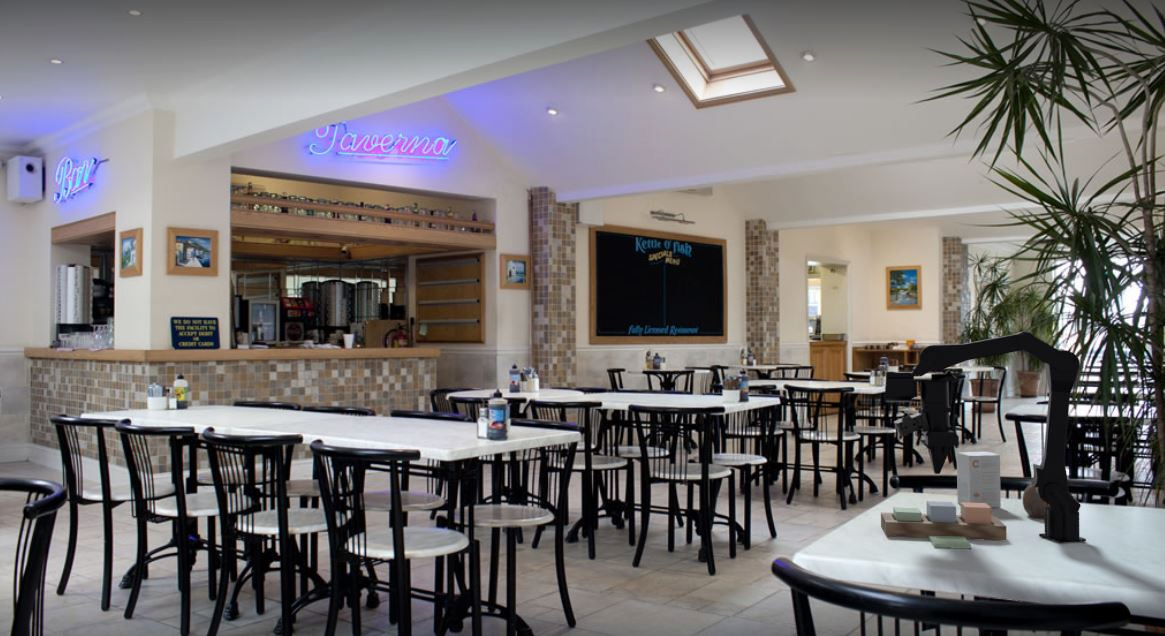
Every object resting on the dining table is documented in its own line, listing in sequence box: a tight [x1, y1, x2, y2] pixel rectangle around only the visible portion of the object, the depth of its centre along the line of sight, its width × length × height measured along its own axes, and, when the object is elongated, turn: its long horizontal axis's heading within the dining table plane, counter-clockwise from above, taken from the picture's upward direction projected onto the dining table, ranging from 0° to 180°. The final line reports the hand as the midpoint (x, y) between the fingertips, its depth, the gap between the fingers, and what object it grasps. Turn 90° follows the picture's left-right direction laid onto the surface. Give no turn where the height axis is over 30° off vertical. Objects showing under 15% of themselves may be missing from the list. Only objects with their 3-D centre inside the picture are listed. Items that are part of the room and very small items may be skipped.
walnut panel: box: [880, 512, 1007, 541], centre depth 200 cm, size 24×10×3 cm, turn 78°
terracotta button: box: [960, 502, 992, 524], centre depth 199 cm, size 5×5×4 cm
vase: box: [1022, 481, 1049, 519], centre depth 217 cm, size 7×7×9 cm
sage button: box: [892, 506, 923, 521], centre depth 202 cm, size 5×5×4 cm
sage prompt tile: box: [928, 536, 972, 549], centre depth 191 cm, size 7×7×1 cm
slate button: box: [926, 500, 957, 523], centre depth 200 cm, size 5×5×4 cm
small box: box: [956, 451, 1002, 509], centre depth 229 cm, size 8×6×13 cm
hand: (936, 473), depth 203 cm, fingers closed
